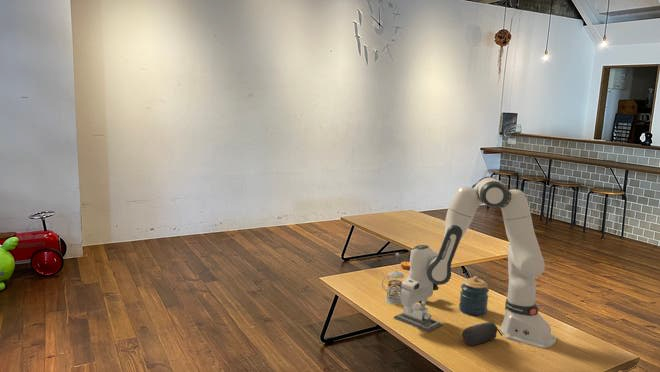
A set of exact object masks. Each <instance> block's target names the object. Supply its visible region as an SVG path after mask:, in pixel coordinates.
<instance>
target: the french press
mask: <svg viewBox="0 0 660 372" xmlns="http://www.w3.org/2000/svg"><path fill="white" fill-rule="evenodd" d="M395 256H396V259H398V257H400V253H399V252H396V253H395ZM395 269H396V270H393V271H390V272H388V273H387V274H388V275H387V276H385V277H384V278H383V279H382V281H381V282H382V283H381V285H382V288H383V289H384V291H386V298H385V300H384V302H386V304H390V305H396V306H399V305H402V303H401V291H402V288H403V287H402V286H401V284H402V282H403V281H402V280H398V279H404V277H405V274H404V273H403V272H401V271H397V270H398V267H396V268H395ZM390 278H393V279H392V280H389V279H390ZM385 279H387V280H389V281H388V284H387V288H385V286H384V280H385Z"/></svg>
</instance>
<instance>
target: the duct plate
mask: <svg viewBox="0 0 660 372" xmlns="http://www.w3.org/2000/svg"><path fill="white" fill-rule="evenodd" d="M393 320H398V321H399V322H402V323H405V324H407V325H410V326H411V325H412V327H414V328H416V327H417V328H416V329H419V330H421V329H422V330H421V331H424V332H426V331H427V333H430V331H431V332H432V331H435V330H436V329H438V328H440V327H442V326H443V322H442V323H441V322H440V321H439V320H435V319H434V318H433V319H432V318H431V320H430V321H429V322H428V321H426V322H425V323H423V324H420V323H417V322H415V321H412V320H410V319H407V318H405V317H403V312H402V313H399V314H396V315H395V316H393Z"/></svg>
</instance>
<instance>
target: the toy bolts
mask: <svg viewBox="0 0 660 372" xmlns="http://www.w3.org/2000/svg"><path fill="white" fill-rule="evenodd" d="M400 267H401V268H403V269H405V270H408V269H409V270H410V261H402V262H400Z"/></svg>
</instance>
